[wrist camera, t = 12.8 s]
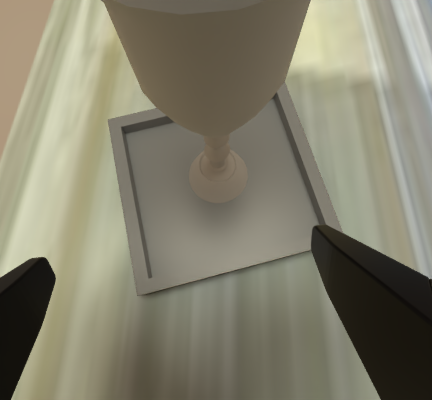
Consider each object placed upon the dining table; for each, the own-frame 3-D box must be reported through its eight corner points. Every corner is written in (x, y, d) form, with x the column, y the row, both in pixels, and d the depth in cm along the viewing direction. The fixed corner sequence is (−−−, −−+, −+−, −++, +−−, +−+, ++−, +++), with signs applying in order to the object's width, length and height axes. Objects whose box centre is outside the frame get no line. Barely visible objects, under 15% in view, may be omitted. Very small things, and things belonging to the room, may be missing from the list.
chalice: (199, 229, 22) (122, 71, 5) (162, 162, 24) (7, -131, 7) (275, 187, 23) (433, -76, 6) (234, 125, 25) (262, -223, 8)
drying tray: (335, 243, 23) (345, 240, 21) (144, 294, 22) (137, 296, 20) (279, 92, 27) (283, 78, 25) (116, 131, 26) (107, 119, 24)
